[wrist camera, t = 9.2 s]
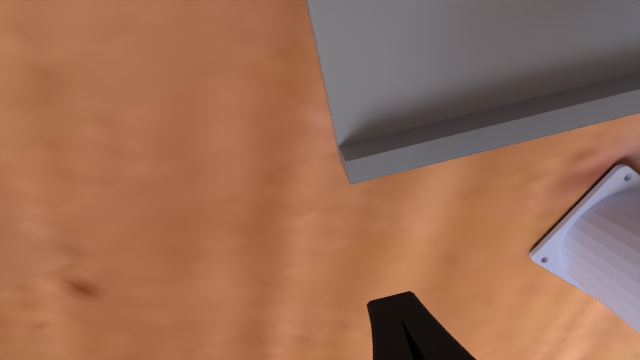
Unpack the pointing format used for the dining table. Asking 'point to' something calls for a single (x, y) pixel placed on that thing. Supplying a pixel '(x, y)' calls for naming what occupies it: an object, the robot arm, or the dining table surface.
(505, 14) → the box
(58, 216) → the dining table surface
